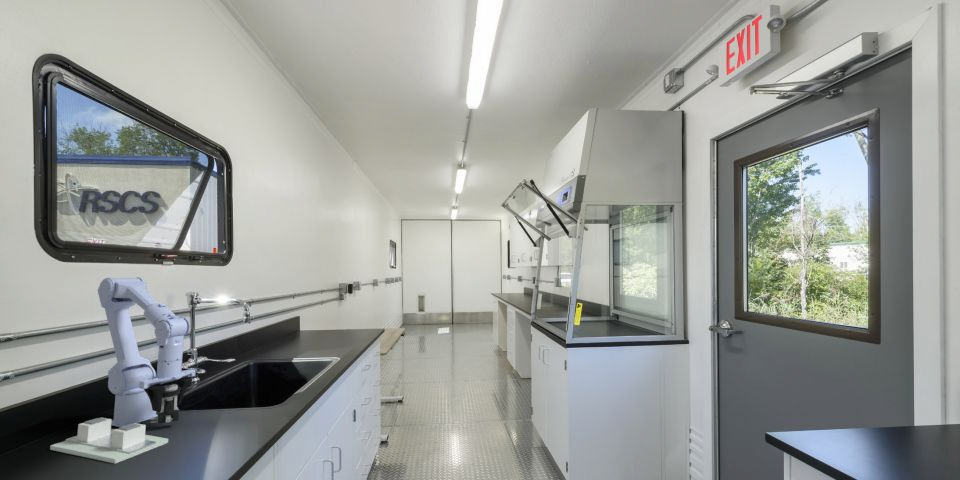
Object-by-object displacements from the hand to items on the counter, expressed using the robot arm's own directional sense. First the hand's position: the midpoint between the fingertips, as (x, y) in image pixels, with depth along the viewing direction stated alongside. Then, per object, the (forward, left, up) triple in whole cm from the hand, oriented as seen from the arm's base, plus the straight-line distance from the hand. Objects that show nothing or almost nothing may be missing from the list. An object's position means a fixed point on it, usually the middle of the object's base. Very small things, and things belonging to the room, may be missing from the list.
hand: (166, 407), depth 115 cm
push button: (0, 0, -4) cm, 4 cm away
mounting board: (+13, -1, -6) cm, 14 cm away
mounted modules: (+13, -1, -4) cm, 14 cm away
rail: (+13, -1, -6) cm, 14 cm away
